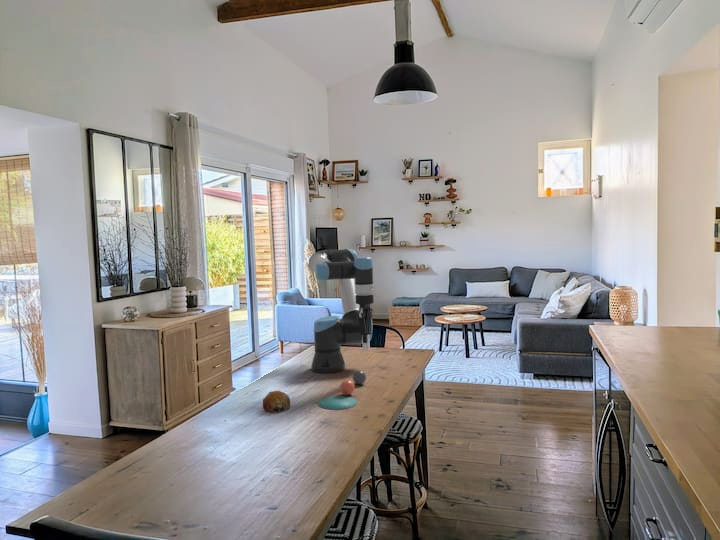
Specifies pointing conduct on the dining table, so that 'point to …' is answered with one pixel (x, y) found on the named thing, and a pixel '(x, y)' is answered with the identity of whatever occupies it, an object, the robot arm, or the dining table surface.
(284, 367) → the dining table surface
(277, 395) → the bread roll
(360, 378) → the gray ball
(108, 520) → the dining table surface
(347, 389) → the red ball
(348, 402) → the teal mark
